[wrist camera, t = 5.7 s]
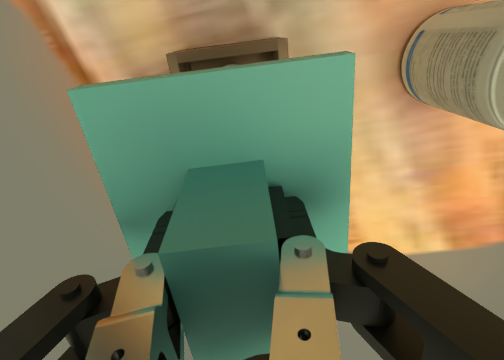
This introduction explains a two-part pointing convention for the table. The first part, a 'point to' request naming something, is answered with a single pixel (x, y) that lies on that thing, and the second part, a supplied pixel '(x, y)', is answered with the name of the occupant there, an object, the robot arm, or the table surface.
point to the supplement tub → (460, 62)
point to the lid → (224, 180)
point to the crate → (228, 55)
